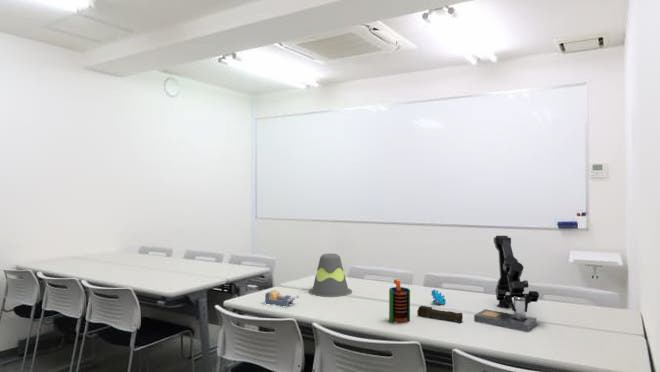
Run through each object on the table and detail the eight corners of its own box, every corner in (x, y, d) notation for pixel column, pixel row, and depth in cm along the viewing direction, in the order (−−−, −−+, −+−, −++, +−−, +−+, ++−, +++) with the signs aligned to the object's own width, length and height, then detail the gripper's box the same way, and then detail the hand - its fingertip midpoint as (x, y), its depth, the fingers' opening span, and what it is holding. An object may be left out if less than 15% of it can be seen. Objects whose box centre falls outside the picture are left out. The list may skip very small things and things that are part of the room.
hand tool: (463, 321, 212) (463, 310, 212) (460, 323, 208) (460, 312, 208) (420, 314, 224) (419, 303, 225) (416, 316, 220) (416, 305, 221)
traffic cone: (353, 297, 260) (352, 257, 261) (307, 297, 261) (306, 257, 261) (351, 286, 288) (351, 251, 288) (309, 287, 288) (309, 251, 289)
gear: (439, 304, 237) (429, 288, 243) (432, 310, 240) (423, 295, 246) (450, 303, 244) (441, 288, 250) (443, 309, 247) (434, 294, 253)
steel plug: (515, 322, 208) (515, 295, 208) (527, 324, 205) (526, 297, 205) (512, 324, 204) (512, 297, 205) (523, 326, 201) (523, 299, 201)
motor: (395, 324, 207) (395, 283, 207) (385, 319, 215) (384, 279, 215) (412, 321, 211) (412, 280, 212) (401, 316, 219) (401, 277, 219)
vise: (263, 304, 245) (263, 292, 245) (273, 300, 254) (273, 289, 254) (289, 308, 236) (289, 296, 236) (299, 304, 245) (299, 292, 245)
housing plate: (485, 314, 222) (485, 308, 222) (536, 324, 205) (536, 317, 205) (474, 321, 211) (474, 314, 211) (527, 332, 195) (527, 324, 195)
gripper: (497, 273, 211) (501, 301, 200) (537, 274, 207) (544, 303, 196) (494, 285, 218) (498, 313, 207) (533, 287, 215) (540, 315, 204)
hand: (520, 311), depth 203 cm, fingers closed on steel plug, 5 cm apart
